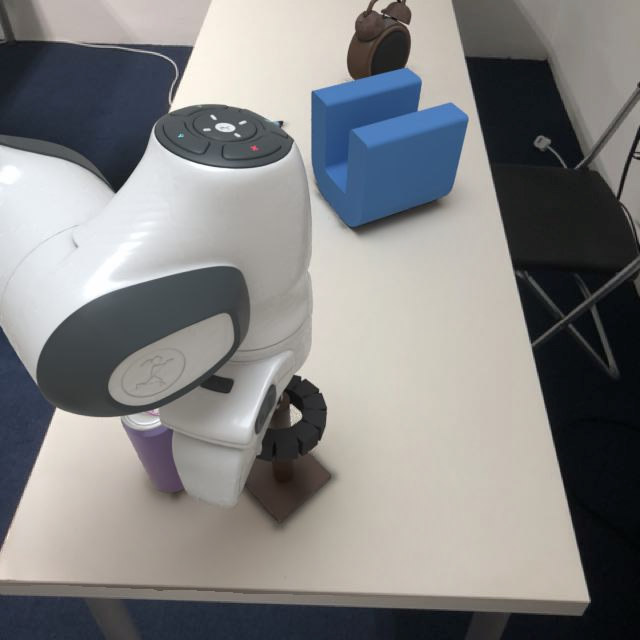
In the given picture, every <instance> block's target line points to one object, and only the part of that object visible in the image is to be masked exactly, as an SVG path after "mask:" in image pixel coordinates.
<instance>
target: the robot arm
mask: <svg viewBox="0 0 640 640" xmlns="http://www.w3.org/2000/svg"><path fill="white" fill-rule="evenodd" d="M273 122H274V121H271V120H270V119H268V118H266V117H264V116H262V115H261V114H259V113H257V112H254V111H252V110H250V109H247V108H242V107H236V106H231V105H227V104H221V103H202V104H194V105H188V106H184V107H181V108H177V109H175V110H172V111H170V112H168V113H166V114H164V115H163V116H161V117H160V118H159V119H158V120H157V121H156V122H155V123H154V125H153V126H152V129H151V132H150V136H149V140H148V142H147V146H146V149H145V151H144V153H143V156H142V158H141V159H140V161H139V162H138V164H137V166H136V167H135V169H134V170H133V171H132V172H131V174H130V176H129V177H128V178H127V180H126V181H125V182H124V184H122V186H121V187H120V188H119V190H118V191H117V192H116V190H115V189H114V188H113V186H112V185H111V184H110V183H109V181H108V180H107V179H106V177H105V176H104V175H103V174H102V172H101V171H100V170H99V168H97V167H96V166H95V164H93V162H91V161H90V160H89V159H87V158H86V157H85V156H84V155H82V154H81V153H79V152H78V151H76V150H73V149H71V148H69V147H66V146H64V145H61V144H58V143H55V142H50V141H47V140H41V139H35V138H31V137H30V138H28V137H23V136H15V135H14V136H13V135H6V134H0V327H1V328H2V331H3V333H4V334H5V336H6V338H7V340H8V343H9V344H10V345H11V347H12V348H13V350H14V351H15V353H16V355H17V356H18V358H19V359H20V361H21V363H22V365H24V368H25V369H26V370H27V372H28V373H29V375H30V377H31V378H32V380H33V382H34V383H35V385H36V386H37V387H38V389H39V392H40V393H41V395H42V396H43V398H44V399H45V400H46V401H47V402H48V403H49V404H51V405H52V406H53V407H54V408H57V409H59V410H61V411H64V412H67V413H70V414H73V415H78V416H82V417H91V418H118V417H120V416H127V415H133V414H137V413H142V412H146V411H150V410H154V409H157V408H159V411H158V415H159V419H160V422H161V424H162V425H163V426H165V427H168V428H170V429H172V430H174V431H173V437H172V453H173V458H174V461H175V465H176V468H177V471H178V474H179V477H180V479H181V482H182V484H183V486H184V489H183V490H185V493H187V495H188V496H189V497H191V498H193V499H195V500H197V501H200V502H202V503H205V504H208V505H212V506H215V507H220V508H223V509H230V508H232V507H234V506H236V504H237V503H238V502H239V500H240V497H241V495H242V493H243V490H244V487H245V486H246V485H245V482H246V480H247V477H248V475H249V472H250V470H251V467H252V465H253V462H254V460H255V458H256V455H260V454H261V451H262V449H263V446H264V444H265V441H266V438H265V433H266V430H267V428H268V425H269V423H270V420H271V418H272V415H273V413H274V411H277V410H278V408H279V406H280V403H281V401H282V399H283V390H284V389H285V388H286V386H287V385H288V384H289V382H290V380H291V379H292V377H293V375H296V373H297V372H299V370H300V369H301V368H302V367H303V366H304V364H305V363H306V362H307V359H308V358H309V355H310V352H311V350H312V345H313V343H312V342H313V312H314V294H313V293H314V291H313V282H312V277H311V274H310V271H308V270H309V268H310V266H311V261H312V255H313V227H312V226H313V221H312V206H311V205H312V204H311V203H312V202H311V194H310V193H311V192H310V185H309V181H308V175H307V170H306V167H305V164H304V158H303V156H302V153H301V151H300V148H299V146H298V144H297V142H296V141H295V139H294V138H293V137H292V136H291V135H290V134H288V132H287V131H285V130H284V129H283V128H281V126H277V125H276V124H274V123H273Z"/></svg>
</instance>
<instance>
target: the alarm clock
mask: <svg viewBox="0 0 640 640" xmlns="http://www.w3.org/2000/svg"><path fill="white" fill-rule="evenodd" d="M378 1H379V0H370V1H369V3H368V5H367V8H366V10H363V11H362V12H361V13H359V15H358V16H357V17H356V19H355V22H354V31H355V32H354V34H353V35H352V38H351V40H350V43H349V46H348V49H347V53H346V68H347V71H348V74H349V76H350V77H351V79H352V80H353V81H354V80H358V79H362V78H366V77H370V76H374V75H379V74H383V73H387V72H391V71H395V70H399V69H403V68H406V66H407V64H408V61H409V57H410V54H411V48H412V38H411V37H412V36H411V33H410V30H409V29H408V26H410V24H411V21H412V16H413V15H412V11H411V8H410V7H409V6H408V5H407V4H406V2H407V0H396V1H392V2H390V3H389V4H387V6H386V7H385V8H382V9H381V10H380V13H379V12H378V11H376V10H373V8H374V6H375V4H376V3H377V2H378ZM406 25H407V26H406Z"/></svg>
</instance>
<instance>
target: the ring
mask: <svg viewBox="0 0 640 640" xmlns="http://www.w3.org/2000/svg"><path fill="white" fill-rule="evenodd" d="M302 377H303V376H301V375H297V374H294V375H293V377H292V379H291V380H290V382H289V384H288V385H287V386H286V388H285V389H284V390H283V391H284V392H286V393H287V394H288V396H289V399H290V405H292V406H293V407H294V408H295V409H297V410H298V411H299V412H300V413H301V418H300V419H299V420H298V421H297V422H295V423H293V424H291V427H288V428H282V429H276V430H275V429H271V428H267V430H266V433H265V438H266V441H265V444H264V446H263V449H262V451H261V454H260V455H256V458H257V459H261V460H265V461H268V462H272V460H273V458H274V455H275V458H276V462H282V461H288V460H293V459H298V453H299V454H300V455H301V456H304V455H305V454H307V453H308V452H309V453H310V452H311V451H312V450H313V449H314V448H316V447H317V446H318V445H319V442H321V441H322V439H323V435H324V433H325V429H326V427H327V417H328V406H327V403H326V401H325V398H324V395H323V392H320V388H319V387H318V386H316V385H315V384H313V382H311V381H309V379H308V378H304V379H302Z"/></svg>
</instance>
